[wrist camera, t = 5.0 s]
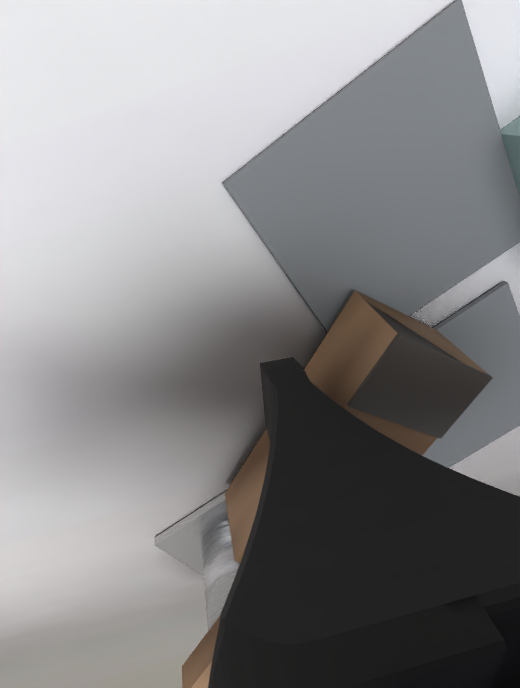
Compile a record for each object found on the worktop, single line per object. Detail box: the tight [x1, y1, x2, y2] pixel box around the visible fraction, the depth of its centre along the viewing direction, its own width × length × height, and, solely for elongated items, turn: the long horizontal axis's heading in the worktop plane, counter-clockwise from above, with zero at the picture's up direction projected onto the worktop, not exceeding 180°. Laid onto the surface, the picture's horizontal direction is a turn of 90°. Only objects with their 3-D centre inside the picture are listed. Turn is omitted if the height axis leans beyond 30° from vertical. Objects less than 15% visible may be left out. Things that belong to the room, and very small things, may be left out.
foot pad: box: [422, 281, 520, 468], centre depth 14 cm, size 6×6×1 cm
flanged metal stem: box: [155, 492, 240, 631], centre depth 14 cm, size 4×4×3 cm
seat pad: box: [223, 0, 520, 332], centre depth 11 cm, size 6×6×1 cm
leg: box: [182, 290, 493, 688], centre depth 12 cm, size 12×3×4 cm, turn 152°
